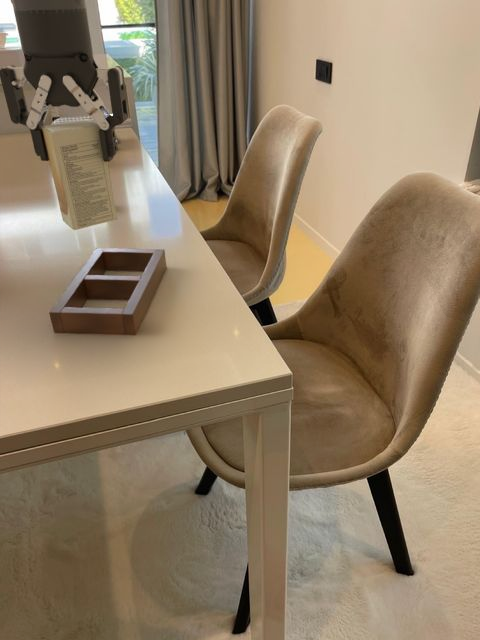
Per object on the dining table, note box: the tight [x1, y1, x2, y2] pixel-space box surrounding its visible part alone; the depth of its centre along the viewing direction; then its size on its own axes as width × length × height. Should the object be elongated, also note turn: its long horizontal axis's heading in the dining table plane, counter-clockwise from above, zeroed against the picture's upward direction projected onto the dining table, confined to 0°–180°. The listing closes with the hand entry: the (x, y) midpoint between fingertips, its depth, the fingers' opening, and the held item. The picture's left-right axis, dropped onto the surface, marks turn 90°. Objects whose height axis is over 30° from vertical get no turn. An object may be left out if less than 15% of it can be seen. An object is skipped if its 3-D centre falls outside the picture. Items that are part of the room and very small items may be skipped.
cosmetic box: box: [41, 119, 118, 231], centre depth 71 cm, size 6×4×12 cm
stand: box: [48, 247, 167, 336], centre depth 86 cm, size 12×22×5 cm, turn 177°
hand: (77, 159), depth 70 cm, fingers closed on cosmetic box, 7 cm apart
